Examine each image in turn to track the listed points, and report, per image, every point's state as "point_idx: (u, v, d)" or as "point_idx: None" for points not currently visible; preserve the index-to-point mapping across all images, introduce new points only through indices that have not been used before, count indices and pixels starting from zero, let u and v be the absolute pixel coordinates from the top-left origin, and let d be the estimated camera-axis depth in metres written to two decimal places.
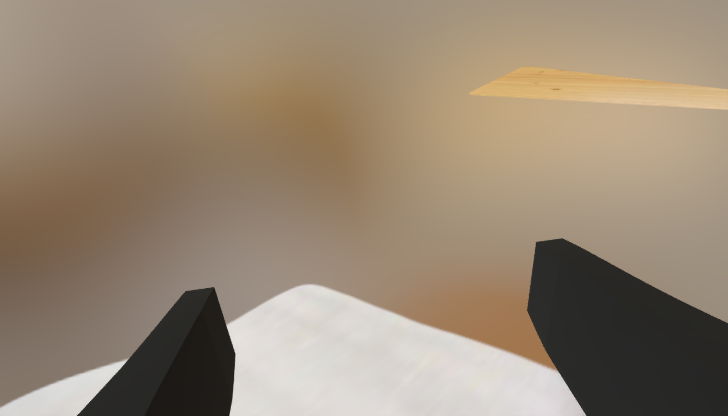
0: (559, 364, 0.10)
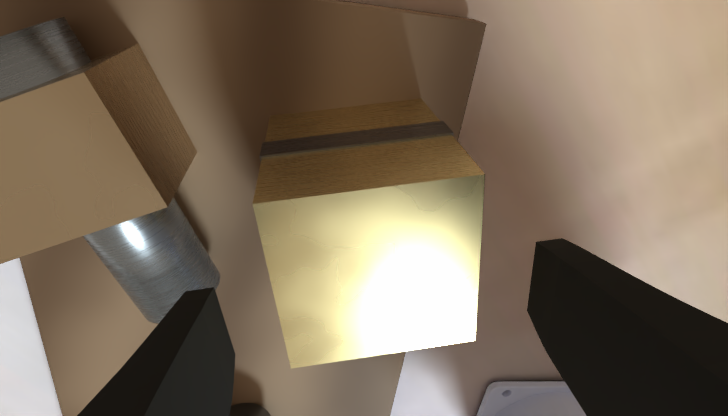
0: (559, 364, 0.10)
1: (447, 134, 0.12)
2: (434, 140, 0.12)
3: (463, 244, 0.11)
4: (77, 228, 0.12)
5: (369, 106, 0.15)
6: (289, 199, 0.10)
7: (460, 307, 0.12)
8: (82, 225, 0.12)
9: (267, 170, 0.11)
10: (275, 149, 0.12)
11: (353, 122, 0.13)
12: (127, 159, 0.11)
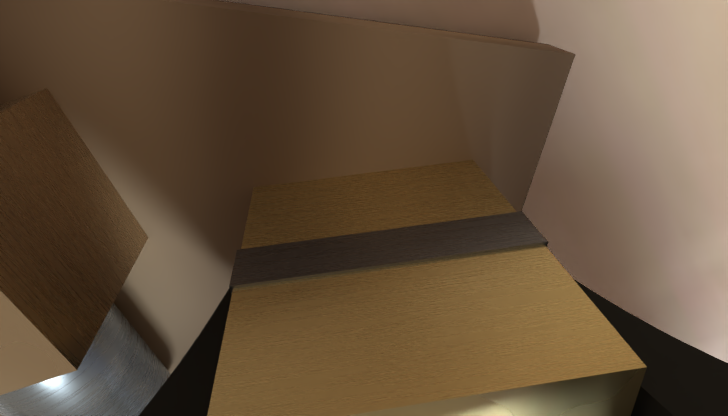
0: None
1: (536, 243, 0.07)
2: (520, 259, 0.07)
3: None
4: None
5: (399, 173, 0.10)
6: None
7: None
8: None
9: (239, 326, 0.06)
10: (256, 270, 0.07)
11: (378, 207, 0.09)
12: None
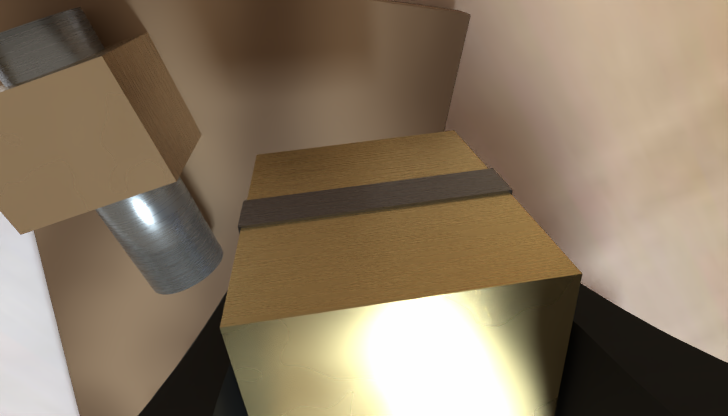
0: None
1: (503, 191, 0.09)
2: (487, 203, 0.08)
3: (538, 366, 0.07)
4: (93, 201, 0.13)
5: (386, 142, 0.11)
6: (279, 319, 0.06)
7: None
8: (98, 198, 0.13)
9: (247, 254, 0.07)
10: (260, 215, 0.08)
11: (368, 168, 0.10)
12: (140, 136, 0.12)
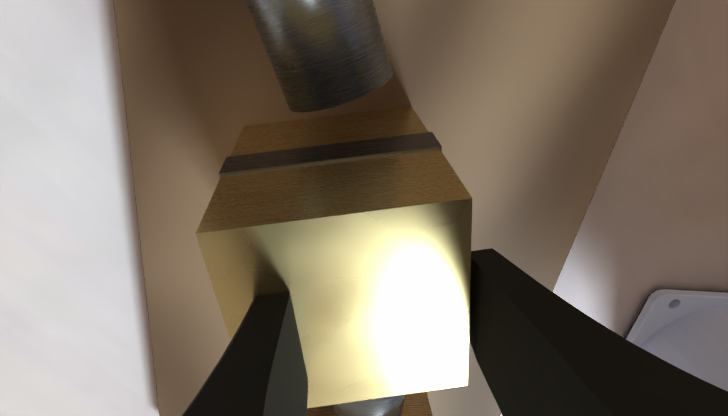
0: (487, 376, 0.10)
1: (434, 147, 0.10)
2: (418, 155, 0.10)
3: (448, 279, 0.09)
4: None
5: (353, 115, 0.13)
6: (239, 228, 0.08)
7: (448, 349, 0.10)
8: None
9: (223, 191, 0.09)
10: (238, 166, 0.10)
11: (331, 133, 0.12)
12: None
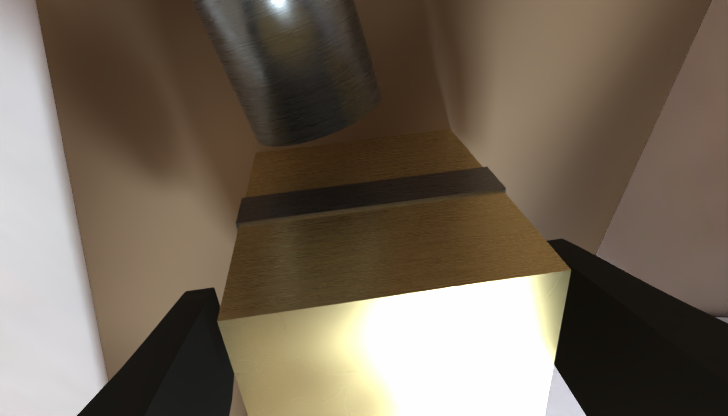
0: (559, 364, 0.10)
1: (497, 189, 0.09)
2: (481, 201, 0.08)
3: (529, 361, 0.07)
4: None
5: (384, 140, 0.11)
6: (274, 314, 0.06)
7: None
8: None
9: (245, 250, 0.08)
10: (258, 212, 0.09)
11: (365, 166, 0.10)
12: None
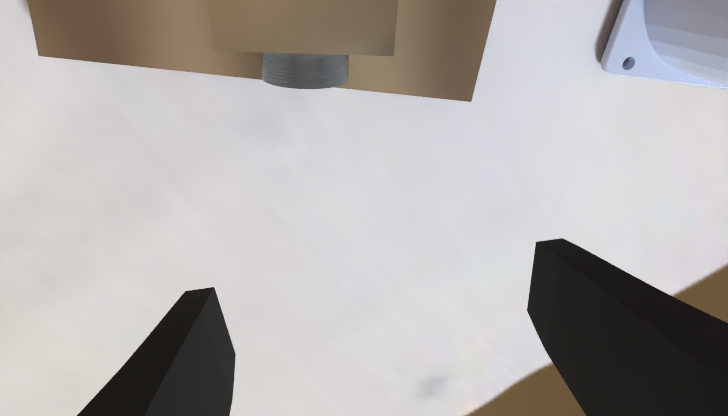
0: (559, 364, 0.10)
1: None
2: None
3: None
4: None
5: None
6: None
7: None
8: None
9: None
10: None
11: None
12: None
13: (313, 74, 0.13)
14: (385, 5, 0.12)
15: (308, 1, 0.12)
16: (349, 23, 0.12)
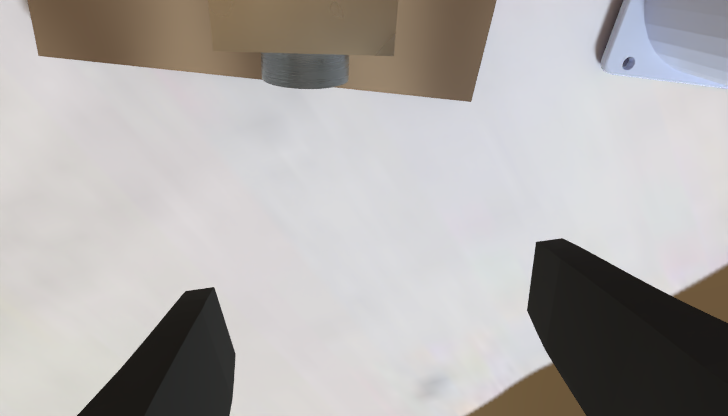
0: (559, 364, 0.10)
1: None
2: None
3: None
4: None
5: None
6: None
7: None
8: None
9: None
10: None
11: None
12: None
13: (313, 74, 0.13)
14: (385, 5, 0.12)
15: (308, 1, 0.12)
16: (349, 23, 0.12)
